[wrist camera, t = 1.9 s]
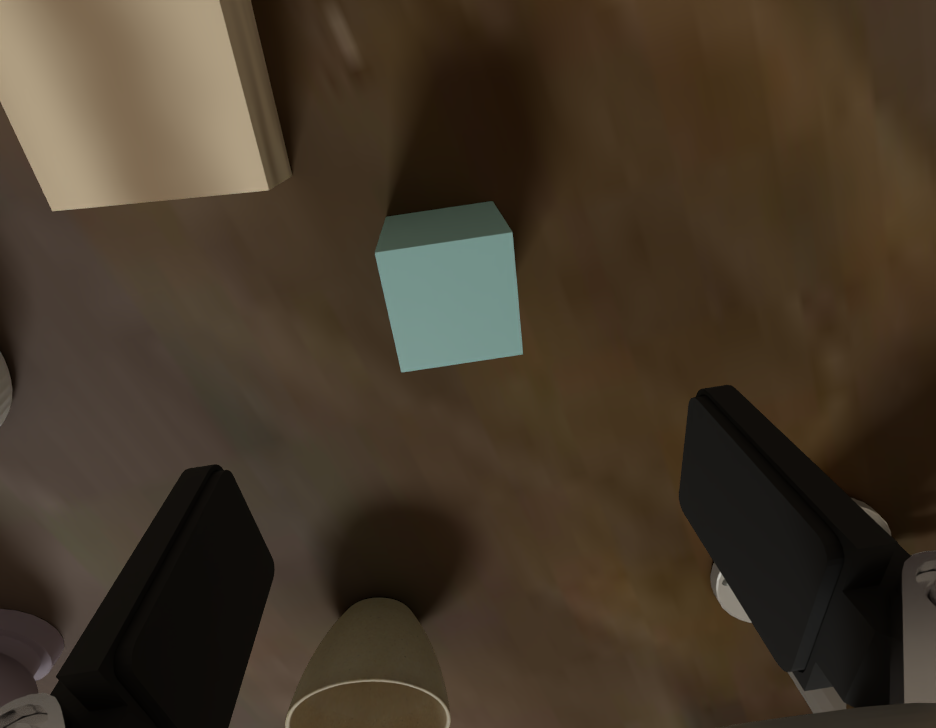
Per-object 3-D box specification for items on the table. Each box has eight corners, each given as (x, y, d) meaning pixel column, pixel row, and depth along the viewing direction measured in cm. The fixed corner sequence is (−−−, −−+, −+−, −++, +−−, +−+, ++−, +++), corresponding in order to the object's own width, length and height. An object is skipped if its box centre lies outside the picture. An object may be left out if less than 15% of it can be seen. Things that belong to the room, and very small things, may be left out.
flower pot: (286, 591, 35) (256, 701, 28) (425, 559, 34) (426, 664, 28) (337, 670, 39) (321, 780, 33) (460, 643, 39) (467, 749, 33)
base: (239, -55, 18) (195, -90, 15) (293, 174, 22) (268, 190, 19) (18, -36, 18) (-80, -67, 15) (112, 192, 22) (52, 211, 18)
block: (492, 200, 23) (512, 232, 18) (502, 300, 26) (522, 354, 20) (385, 216, 23) (374, 252, 18) (406, 315, 26) (401, 372, 20)
